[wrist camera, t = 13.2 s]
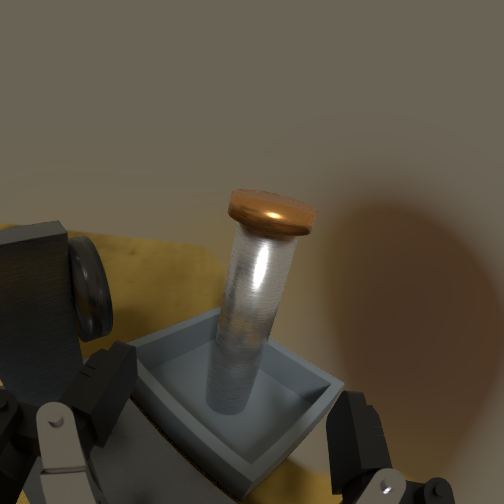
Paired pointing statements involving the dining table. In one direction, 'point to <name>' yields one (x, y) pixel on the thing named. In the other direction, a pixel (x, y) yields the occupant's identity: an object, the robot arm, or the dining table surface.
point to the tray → (229, 426)
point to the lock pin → (253, 291)
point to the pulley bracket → (79, 363)
